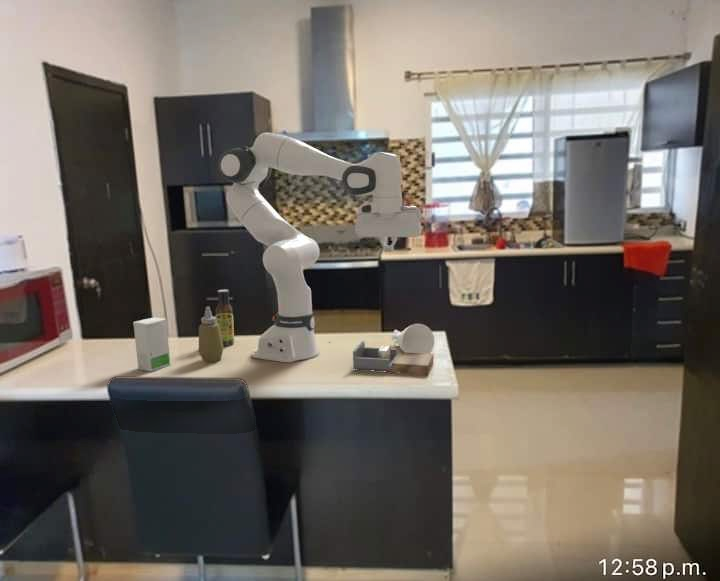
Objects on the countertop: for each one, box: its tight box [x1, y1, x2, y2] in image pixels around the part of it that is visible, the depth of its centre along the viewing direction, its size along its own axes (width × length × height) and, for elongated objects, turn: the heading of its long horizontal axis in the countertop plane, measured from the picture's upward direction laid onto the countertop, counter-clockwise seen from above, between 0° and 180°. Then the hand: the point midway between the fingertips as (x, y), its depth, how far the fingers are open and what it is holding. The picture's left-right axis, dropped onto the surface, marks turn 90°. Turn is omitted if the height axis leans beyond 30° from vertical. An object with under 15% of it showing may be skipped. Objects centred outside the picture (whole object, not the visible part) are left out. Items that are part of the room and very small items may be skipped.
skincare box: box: [132, 316, 172, 373], centre depth 180 cm, size 8×7×16 cm
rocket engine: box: [389, 323, 435, 354], centre depth 190 cm, size 12×12×18 cm
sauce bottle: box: [214, 288, 235, 347], centre depth 202 cm, size 6×6×20 cm
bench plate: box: [392, 351, 434, 376], centre depth 173 cm, size 11×11×3 cm
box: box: [352, 340, 398, 373], centre depth 176 cm, size 12×11×6 cm
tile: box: [378, 345, 391, 359], centre depth 175 cm, size 5×5×2 cm
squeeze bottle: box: [198, 306, 225, 363], centre depth 185 cm, size 8×8×18 cm
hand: (388, 251), depth 175 cm, fingers closed
